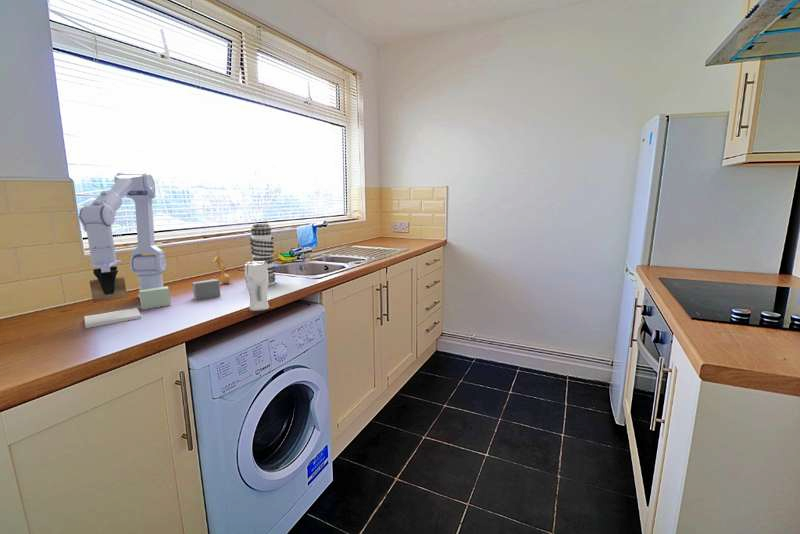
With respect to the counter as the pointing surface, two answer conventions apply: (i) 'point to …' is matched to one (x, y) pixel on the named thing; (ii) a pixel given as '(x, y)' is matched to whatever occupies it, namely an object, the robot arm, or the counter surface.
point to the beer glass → (257, 285)
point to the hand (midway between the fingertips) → (109, 292)
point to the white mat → (111, 317)
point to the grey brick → (206, 289)
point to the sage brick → (154, 297)
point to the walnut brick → (100, 296)
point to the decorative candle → (263, 248)
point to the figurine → (222, 270)
